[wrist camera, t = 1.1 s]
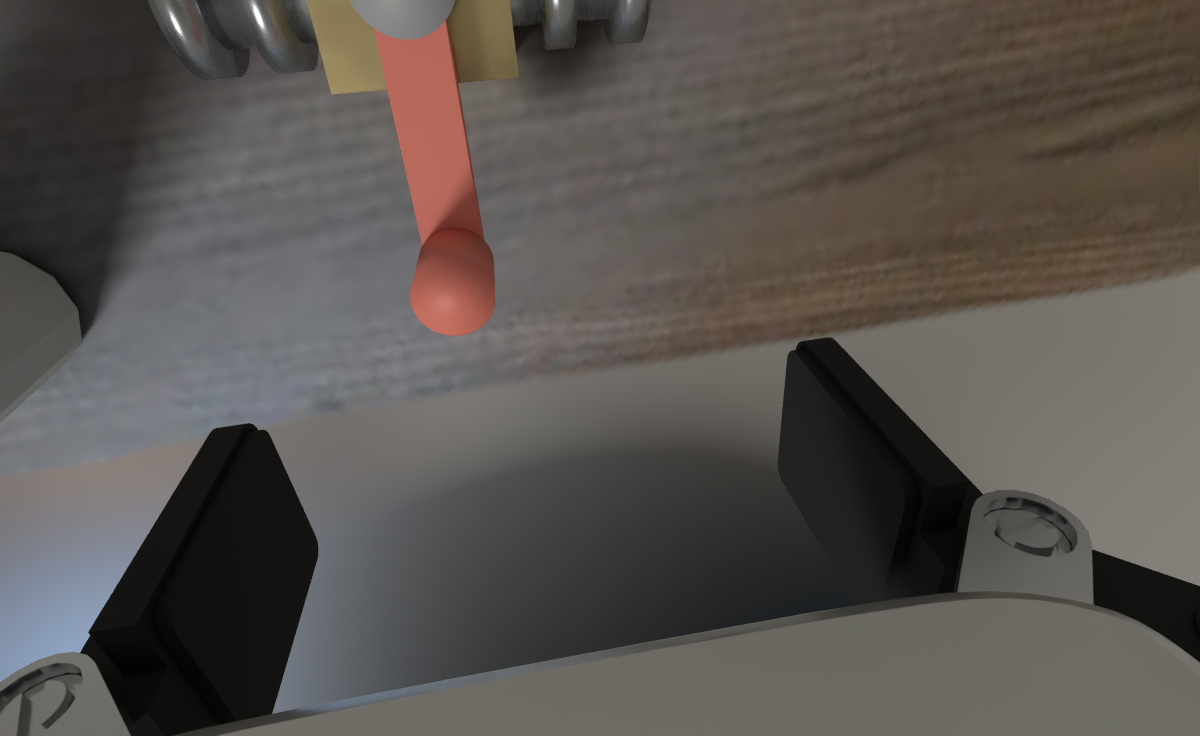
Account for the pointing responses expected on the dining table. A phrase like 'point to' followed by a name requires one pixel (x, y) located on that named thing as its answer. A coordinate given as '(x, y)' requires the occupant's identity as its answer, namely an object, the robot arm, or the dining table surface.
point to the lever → (435, 163)
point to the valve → (373, 35)
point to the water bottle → (32, 330)
